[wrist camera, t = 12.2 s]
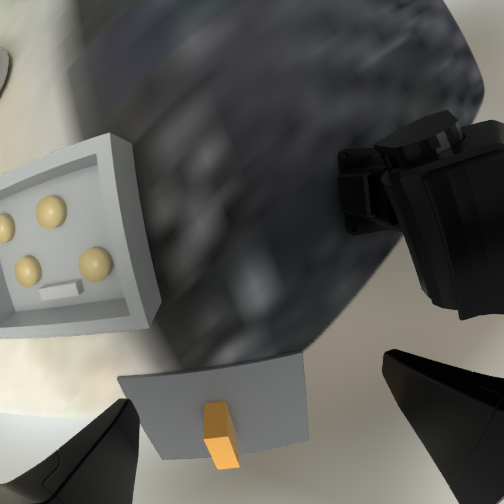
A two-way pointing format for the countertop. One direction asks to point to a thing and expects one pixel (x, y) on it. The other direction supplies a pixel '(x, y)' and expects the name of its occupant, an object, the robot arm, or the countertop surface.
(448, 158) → the robot arm
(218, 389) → the grey lid
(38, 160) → the tub
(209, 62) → the countertop surface
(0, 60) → the can
